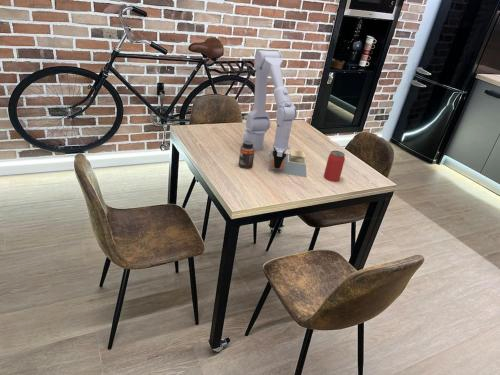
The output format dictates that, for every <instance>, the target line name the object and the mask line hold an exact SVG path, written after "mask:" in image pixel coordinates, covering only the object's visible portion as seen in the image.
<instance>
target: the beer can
mask: <svg viewBox="0 0 500 375" xmlns="http://www.w3.org/2000/svg"><path fill="white" fill-rule="evenodd" d="M345 157H346V156H345V152H342V151H340V150H331V152H330V153H329V155H328V157H327V161H326V166H325V169H324V174H323V179H324V180H327V181H328V182H331V183H333V182H334V183H335V182H339V181H340V178H341V175H342V172H343V169H344V168H343V167H344V164H345V161H346V158H345Z"/></svg>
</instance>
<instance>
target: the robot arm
mask: <svg viewBox="0 0 500 375" xmlns="http://www.w3.org/2000/svg"><path fill="white" fill-rule="evenodd" d="M253 62H254V64H253V67H254V68H253V69H254V70H255V81H254V82H255V83H254V100H253V109H251V111H250V112H248V113H247V116H246V121H245V128H246V129H245V130H244V132H243V138H242V142H241V143H242V145H241V146H243V142H244V141H246V140H248V141H252V142H253V147H254V148H255V152H261V151H263V148H264V140H265V134H266V133H267V131H268V130H269V129H270V128H271V119H270V116H271V115H270V113H268V112H267V111H266V109H267V108H266V107H267V106H266V105H267V94H268V78H269V77H268V76H269V74H270V78H271V80H272V84H273V86H274V89H275V90H274V92H273V96H274V100H275V104H276V108H277V109H276V111H275V117H276V118H275V119H276V120H275V122H276V129H275V134H274V141H273V144H272V146H273V150H272V152H273V156H274V167H275V168H280V166H281V163H282V161H283V159H284V158H285V157H286V154H287V153H286V152H287V150H290V149H291V145H289V142H290V141H289V140H290V135H291V131H292V130H291V129H292V125H293V121H294V120H296V119H297V118H296V117H297V113H298V112H297V108H296V106H295V105H294V103H293V102H291V98H290V93H289V90H288V88H286V87H285V85H284V80H283V74H282V65H283V62H284V60H283V55H282V52H281V51H279V50H262V49H260V50H258V51H257V52H256V53H255V54H254V61H253Z"/></svg>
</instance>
